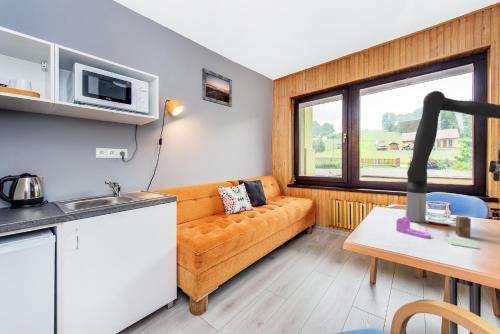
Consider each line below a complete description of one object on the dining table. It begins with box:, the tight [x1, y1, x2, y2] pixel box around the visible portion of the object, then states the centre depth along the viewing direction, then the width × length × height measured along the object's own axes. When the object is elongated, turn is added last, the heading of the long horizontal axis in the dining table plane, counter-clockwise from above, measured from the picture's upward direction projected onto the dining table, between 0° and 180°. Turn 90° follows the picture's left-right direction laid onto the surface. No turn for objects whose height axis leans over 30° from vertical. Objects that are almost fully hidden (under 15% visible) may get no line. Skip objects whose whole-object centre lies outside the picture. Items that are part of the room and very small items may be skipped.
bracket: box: [395, 216, 431, 239], centre depth 104 cm, size 13×6×7 cm, turn 30°
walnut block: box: [455, 215, 472, 239], centre depth 101 cm, size 4×4×9 cm
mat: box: [443, 236, 481, 250], centre depth 92 cm, size 9×10×1 cm
